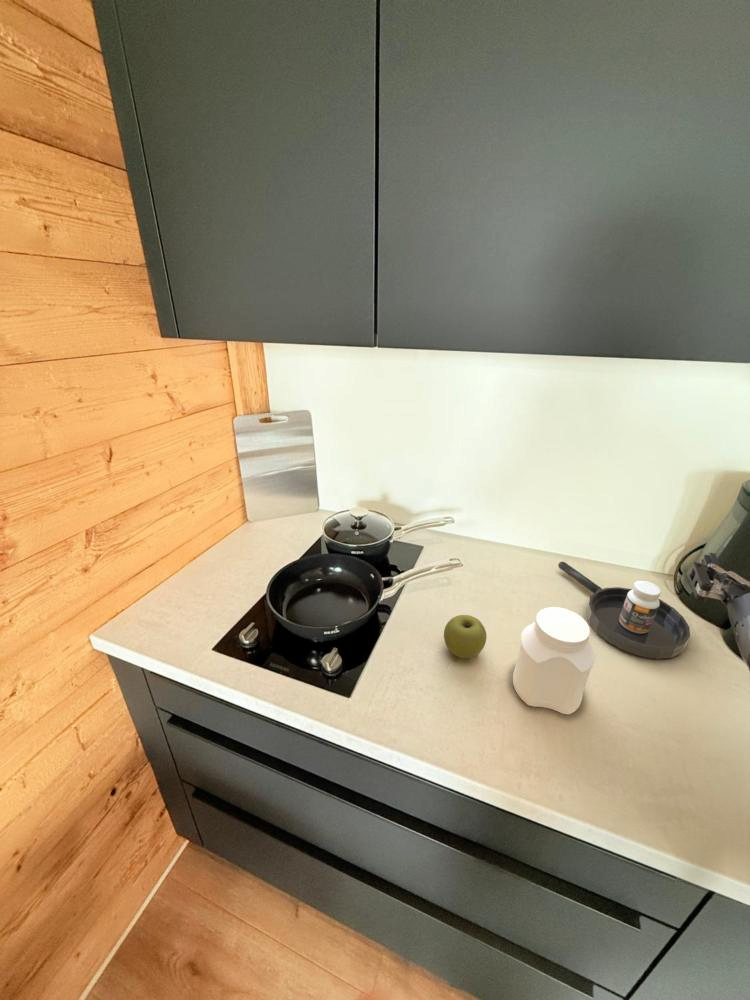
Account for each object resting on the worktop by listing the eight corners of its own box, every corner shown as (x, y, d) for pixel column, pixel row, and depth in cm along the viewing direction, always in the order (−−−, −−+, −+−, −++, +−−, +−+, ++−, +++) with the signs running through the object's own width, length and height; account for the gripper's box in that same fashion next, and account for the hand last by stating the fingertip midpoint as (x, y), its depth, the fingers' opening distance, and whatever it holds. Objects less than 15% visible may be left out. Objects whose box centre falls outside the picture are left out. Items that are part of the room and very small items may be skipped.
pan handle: (561, 565, 107) (563, 559, 106) (604, 596, 96) (606, 589, 95) (555, 567, 106) (557, 561, 105) (598, 599, 95) (600, 591, 94)
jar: (577, 674, 78) (596, 611, 71) (584, 719, 70) (607, 653, 63) (512, 660, 81) (524, 598, 74) (512, 702, 73) (526, 637, 66)
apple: (483, 669, 79) (488, 641, 76) (440, 662, 81) (443, 634, 78) (483, 640, 86) (487, 613, 83) (443, 634, 87) (446, 607, 84)
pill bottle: (628, 635, 86) (642, 597, 82) (613, 616, 91) (625, 579, 87) (655, 634, 86) (670, 596, 82) (638, 615, 92) (652, 578, 87)
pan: (626, 590, 100) (630, 579, 98) (705, 644, 85) (711, 632, 83) (567, 610, 94) (570, 599, 92) (641, 672, 79) (646, 659, 77)
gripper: (882, 635, 44) (822, 556, 56) (713, 594, 49) (694, 531, 62) (845, 686, 47) (797, 601, 60) (692, 642, 53) (678, 573, 66)
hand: (745, 565), depth 61 cm, fingers open, 8 cm apart
